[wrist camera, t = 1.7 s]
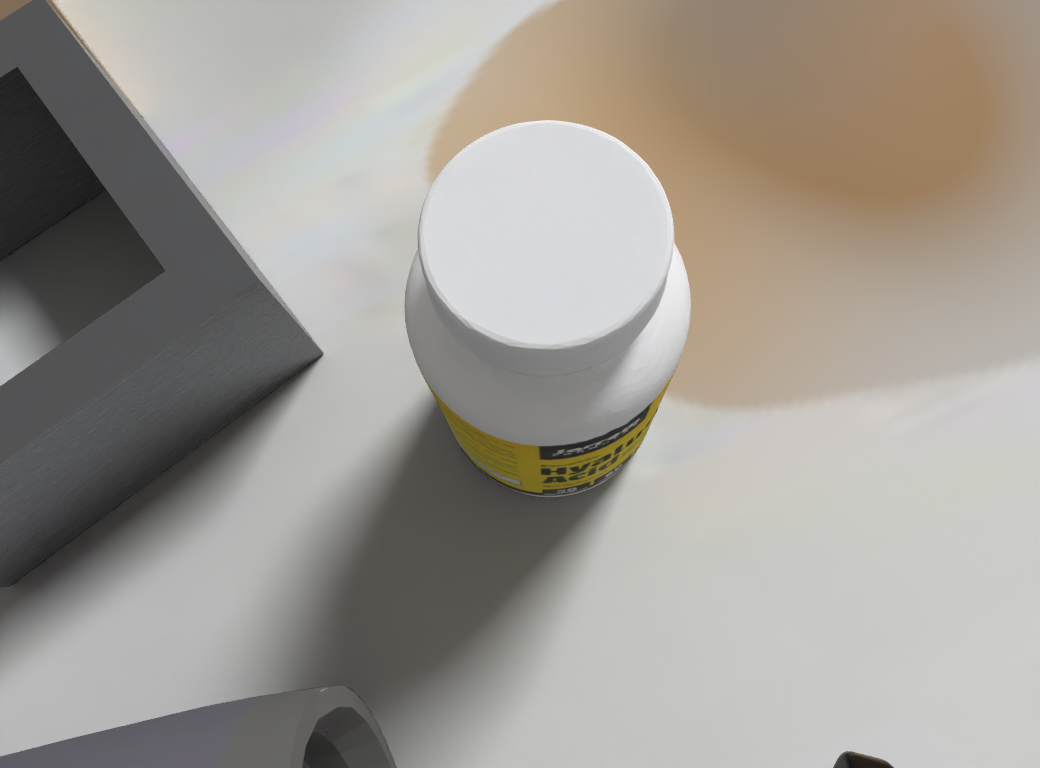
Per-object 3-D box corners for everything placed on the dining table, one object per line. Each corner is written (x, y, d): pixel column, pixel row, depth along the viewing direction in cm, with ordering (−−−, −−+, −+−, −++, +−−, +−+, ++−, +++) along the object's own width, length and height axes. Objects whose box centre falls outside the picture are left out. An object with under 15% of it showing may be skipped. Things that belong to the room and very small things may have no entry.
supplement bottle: (548, 545, 21) (535, 474, 12) (408, 398, 22) (293, 227, 13) (696, 401, 22) (794, 226, 12) (553, 268, 23) (544, 19, 14)
